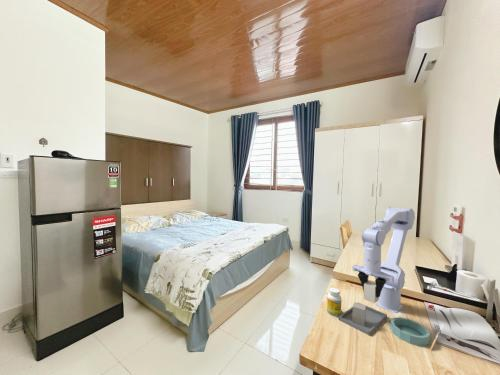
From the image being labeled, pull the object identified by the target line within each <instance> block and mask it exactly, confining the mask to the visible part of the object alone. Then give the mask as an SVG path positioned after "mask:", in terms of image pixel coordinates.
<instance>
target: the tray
mask: <svg viewBox="0 0 500 375" xmlns="http://www.w3.org/2000/svg"><path fill="white" fill-rule="evenodd" d="M358 303H359V304H362V303H360V302H358ZM352 316H353V306H351V307H350V308H349V309H348V310H346V311H344V312H343V313H341V315H340V316H339V317H338V321H339V322H342V323H344V324H346V325H348V326H349V327H352V328H353V329H356V330H358V331H359V332H362V333H363V334H364V335H366V336H371V335H372V333H373V332H375V331H376V329H377V328H379V327H380V325H381V324H382V323H383V322H384V321H385V320H386V319H387V318H388V314H386V313H384V312H382V311H379V310H377V309H375V308H373V307H371V306H368V305H366V322H365V326H361V325H358V324H355V323H352Z"/></svg>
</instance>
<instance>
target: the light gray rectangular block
mask: <svg viewBox="0 0 500 375" xmlns="http://www.w3.org/2000/svg"><path fill="white" fill-rule="evenodd" d="M359 303H360V302H355V301H354V303H353V306H352V307H353V316H352V323H355V324H358V325H361V326H365V322H366V306H367V304H362V303H361V304H359Z"/></svg>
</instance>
